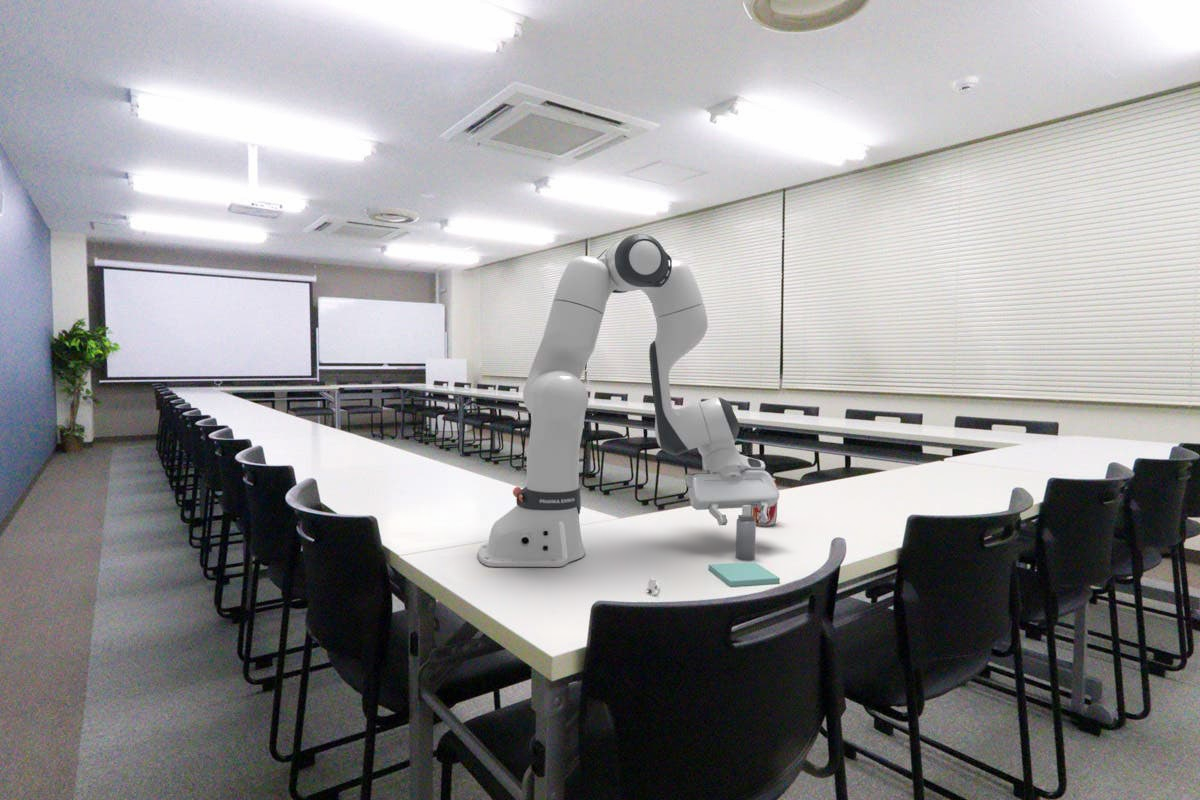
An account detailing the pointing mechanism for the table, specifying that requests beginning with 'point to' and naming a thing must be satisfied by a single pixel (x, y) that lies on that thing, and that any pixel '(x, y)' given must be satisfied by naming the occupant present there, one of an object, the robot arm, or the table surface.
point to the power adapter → (653, 587)
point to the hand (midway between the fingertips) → (743, 523)
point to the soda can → (770, 513)
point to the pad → (743, 574)
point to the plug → (745, 535)
